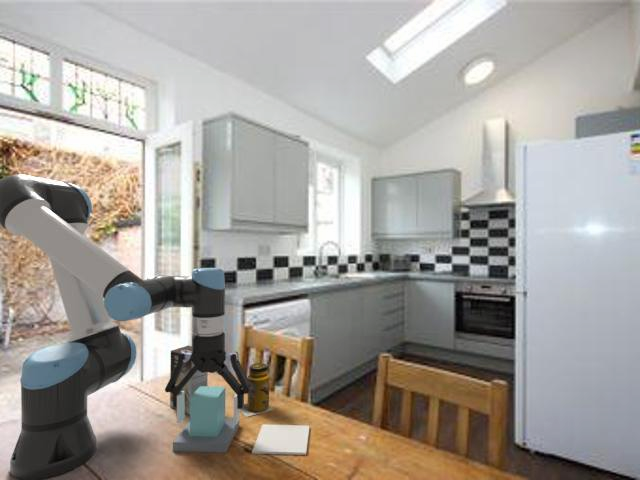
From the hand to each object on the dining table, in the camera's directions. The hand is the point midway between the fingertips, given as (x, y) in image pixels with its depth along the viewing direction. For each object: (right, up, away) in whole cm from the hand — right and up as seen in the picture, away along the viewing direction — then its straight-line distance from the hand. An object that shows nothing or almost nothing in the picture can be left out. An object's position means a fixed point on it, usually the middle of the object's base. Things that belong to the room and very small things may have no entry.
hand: (208, 421), depth 90 cm
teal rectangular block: (0, -2, 0) cm, 2 cm away
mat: (+18, -4, -1) cm, 18 cm away
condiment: (+8, -4, +16) cm, 18 cm away
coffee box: (-11, -4, +16) cm, 20 cm away
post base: (0, -4, 0) cm, 4 cm away
